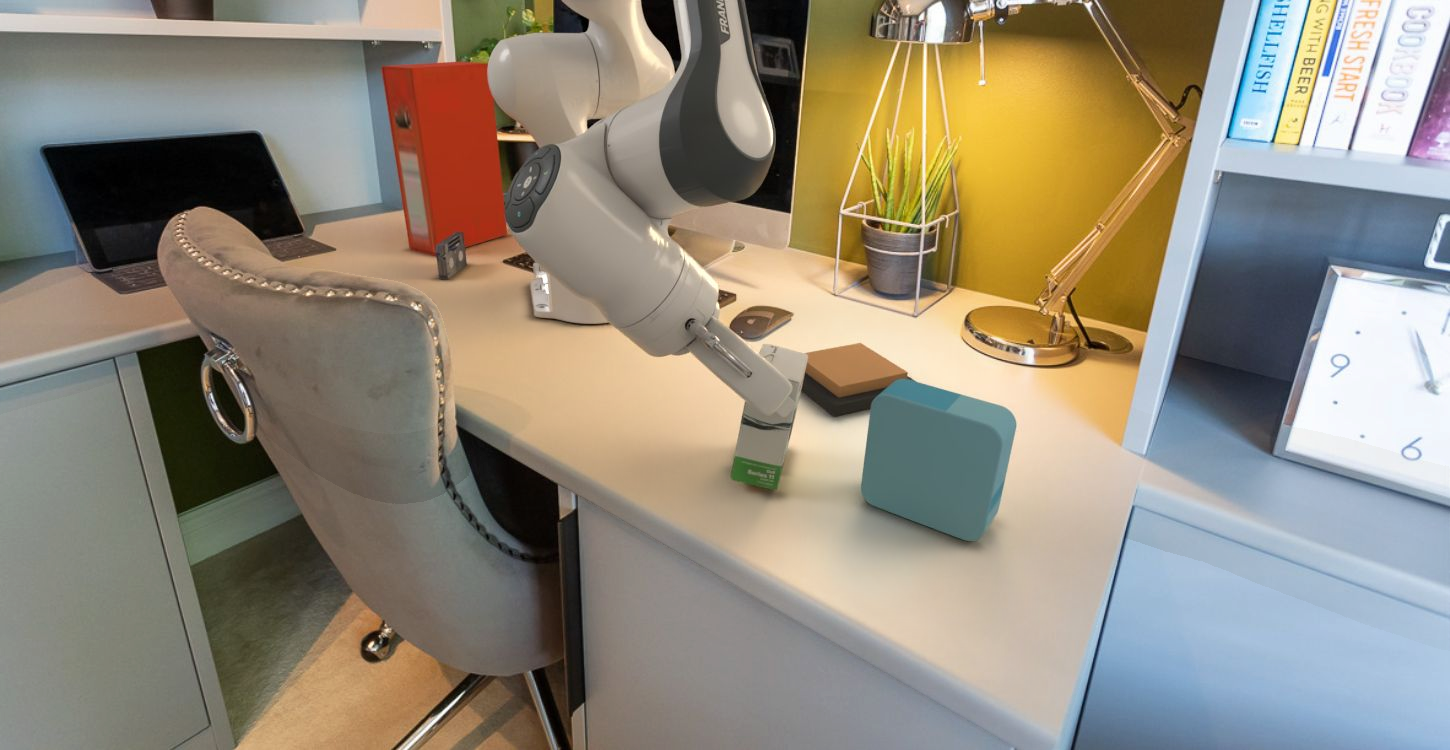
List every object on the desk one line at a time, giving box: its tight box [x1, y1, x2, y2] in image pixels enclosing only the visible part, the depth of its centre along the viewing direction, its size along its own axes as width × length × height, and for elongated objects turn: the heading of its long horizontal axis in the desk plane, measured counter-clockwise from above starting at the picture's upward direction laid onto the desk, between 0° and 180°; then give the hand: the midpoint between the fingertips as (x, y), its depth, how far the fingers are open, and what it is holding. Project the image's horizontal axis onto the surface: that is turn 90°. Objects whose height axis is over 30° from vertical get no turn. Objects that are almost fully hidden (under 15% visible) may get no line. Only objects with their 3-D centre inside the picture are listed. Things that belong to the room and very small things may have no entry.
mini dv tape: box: [435, 232, 468, 280], centre depth 133 cm, size 8×2×6 cm, turn 175°
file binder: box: [380, 61, 508, 257], centre depth 144 cm, size 8×17×32 cm, turn 150°
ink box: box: [730, 343, 808, 491], centre depth 78 cm, size 9×5×12 cm, turn 169°
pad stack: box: [801, 342, 917, 418], centre depth 98 cm, size 13×13×3 cm
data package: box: [860, 379, 1017, 542], centre depth 72 cm, size 12×4×12 cm, turn 56°
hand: (762, 387), depth 76 cm, fingers open, 8 cm apart
